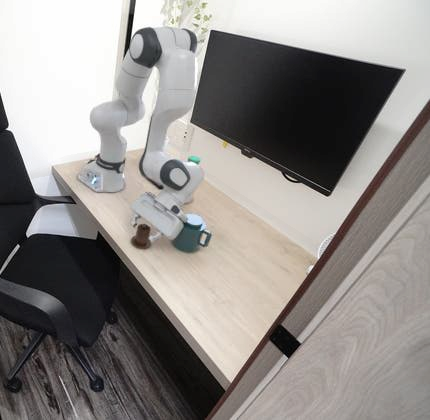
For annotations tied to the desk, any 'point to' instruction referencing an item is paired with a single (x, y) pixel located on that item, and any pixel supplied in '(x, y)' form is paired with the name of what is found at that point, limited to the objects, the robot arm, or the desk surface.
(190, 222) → the teal mug
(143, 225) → the lid
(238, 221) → the desk surface
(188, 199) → the milk bottle
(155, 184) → the smartphone
